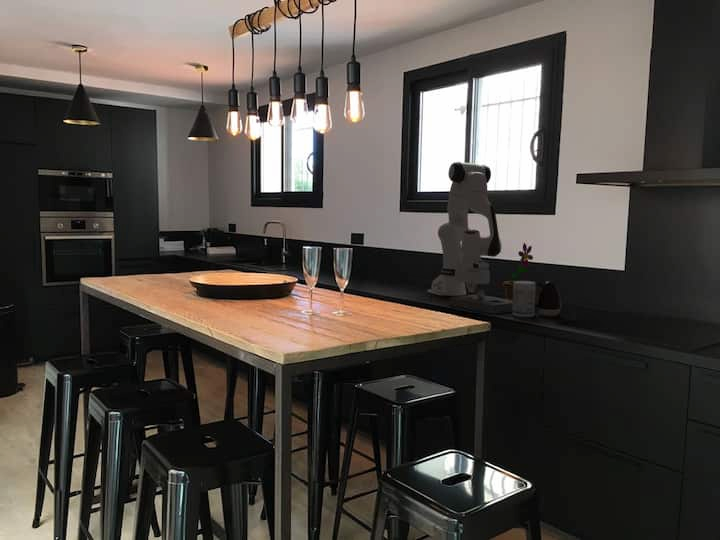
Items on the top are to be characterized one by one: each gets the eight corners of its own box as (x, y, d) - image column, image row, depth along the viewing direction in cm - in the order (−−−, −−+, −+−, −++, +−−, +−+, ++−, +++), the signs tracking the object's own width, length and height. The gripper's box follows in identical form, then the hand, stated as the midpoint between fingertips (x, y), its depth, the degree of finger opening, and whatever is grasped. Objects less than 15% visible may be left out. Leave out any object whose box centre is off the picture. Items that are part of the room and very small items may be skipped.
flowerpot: (521, 306, 278) (523, 243, 275) (496, 303, 289) (498, 242, 286) (538, 303, 288) (540, 242, 285) (513, 300, 298) (515, 241, 295)
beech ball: (474, 298, 278) (474, 290, 277) (480, 297, 280) (480, 289, 279) (480, 299, 274) (480, 291, 274) (486, 298, 276) (487, 290, 276)
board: (450, 305, 282) (450, 297, 281) (477, 302, 292) (477, 294, 291) (493, 314, 258) (493, 305, 258) (521, 310, 268) (521, 301, 268)
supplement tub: (515, 312, 262) (516, 280, 261) (537, 314, 258) (538, 281, 256) (509, 316, 254) (510, 282, 252) (531, 318, 249) (532, 284, 248)
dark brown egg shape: (536, 313, 262) (537, 279, 261) (560, 314, 259) (562, 280, 257) (535, 317, 253) (536, 282, 251) (561, 318, 249) (562, 283, 248)
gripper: (451, 262, 288) (451, 290, 290) (482, 265, 272) (482, 295, 273) (460, 262, 292) (460, 289, 293) (491, 264, 275) (491, 293, 277)
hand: (471, 292), depth 283 cm, fingers closed
